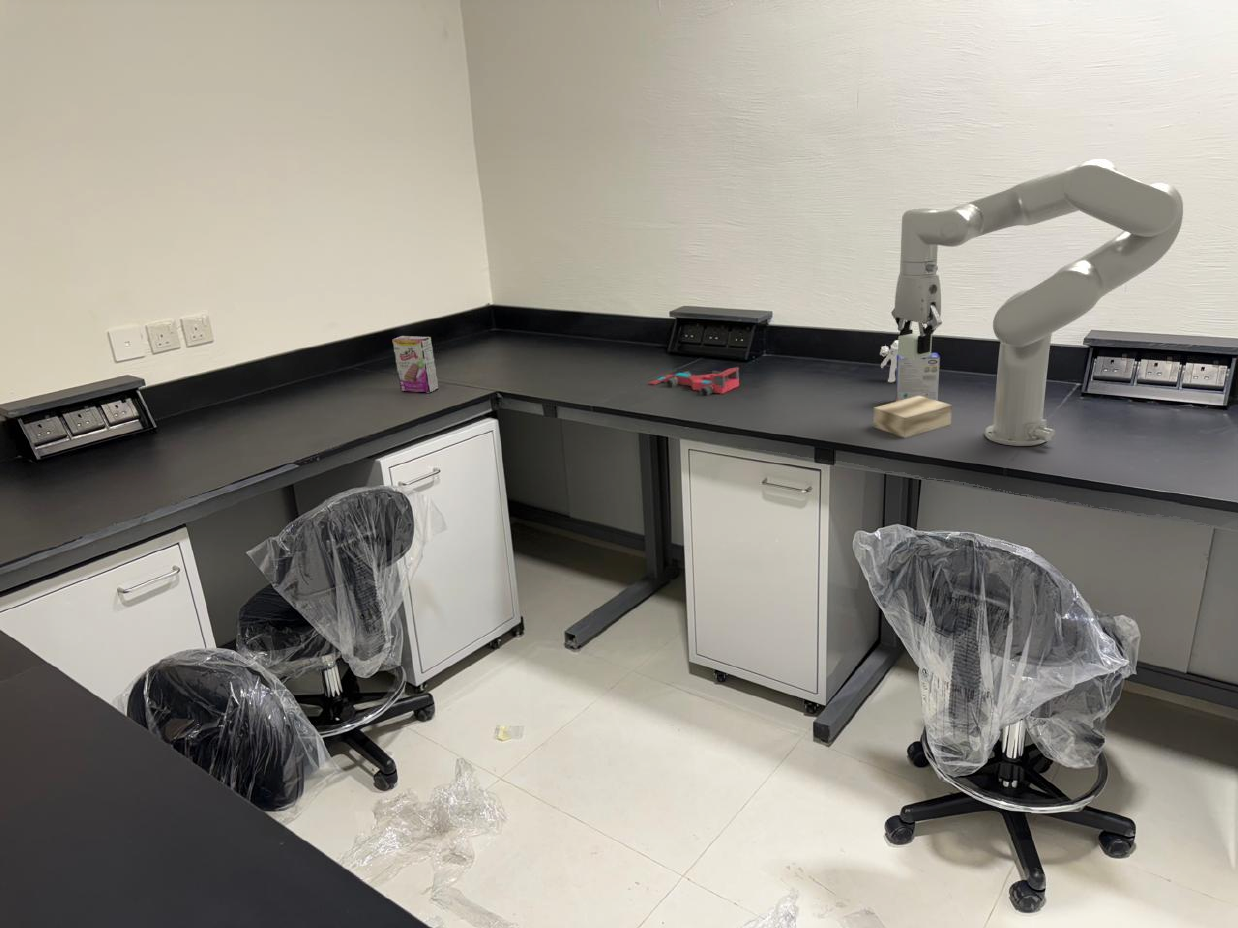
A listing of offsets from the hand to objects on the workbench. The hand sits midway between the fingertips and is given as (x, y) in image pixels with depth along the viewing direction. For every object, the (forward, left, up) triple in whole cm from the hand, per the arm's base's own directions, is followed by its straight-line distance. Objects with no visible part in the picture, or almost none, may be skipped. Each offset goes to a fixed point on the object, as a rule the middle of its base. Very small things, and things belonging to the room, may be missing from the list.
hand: (914, 349), depth 196 cm
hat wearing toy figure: (+30, -21, -18) cm, 41 cm away
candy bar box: (+111, +91, -18) cm, 145 cm away
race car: (+62, +23, -19) cm, 69 cm away
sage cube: (0, 0, -2) cm, 2 cm away
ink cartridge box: (+12, -12, -18) cm, 25 cm away
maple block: (0, 0, -18) cm, 18 cm away
